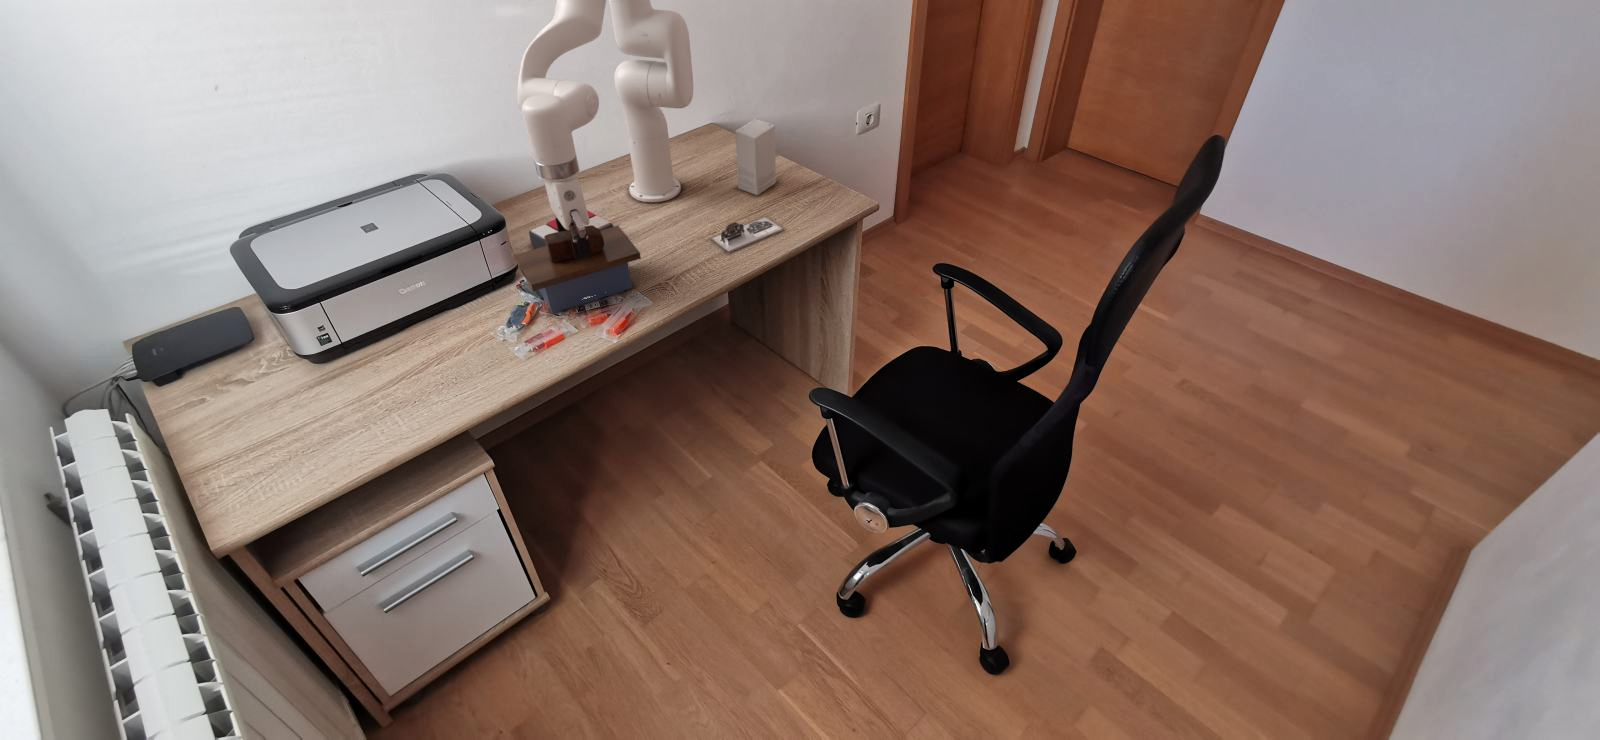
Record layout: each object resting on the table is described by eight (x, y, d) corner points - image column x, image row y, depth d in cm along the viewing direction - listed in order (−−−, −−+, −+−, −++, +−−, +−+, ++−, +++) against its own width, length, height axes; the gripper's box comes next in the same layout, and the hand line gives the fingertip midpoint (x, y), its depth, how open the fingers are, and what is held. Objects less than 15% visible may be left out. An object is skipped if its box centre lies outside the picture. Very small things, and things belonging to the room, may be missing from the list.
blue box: (537, 288, 155) (529, 260, 150) (615, 264, 161) (609, 237, 157) (552, 313, 149) (544, 284, 144) (632, 288, 155) (627, 259, 150)
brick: (552, 264, 146) (547, 244, 143) (548, 254, 149) (543, 234, 146) (606, 252, 150) (602, 231, 147) (600, 242, 152) (596, 222, 149)
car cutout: (729, 252, 165) (727, 234, 162) (712, 239, 169) (711, 222, 166) (782, 230, 172) (782, 213, 169) (765, 218, 176) (764, 201, 173)
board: (515, 261, 150) (513, 254, 149) (619, 231, 158) (618, 225, 157) (533, 291, 142) (531, 285, 141) (641, 258, 151) (639, 252, 150)
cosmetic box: (757, 176, 192) (755, 117, 181) (778, 183, 189) (777, 124, 179) (736, 189, 187) (733, 129, 176) (757, 196, 184) (755, 136, 174)
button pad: (613, 221, 168) (557, 246, 159) (615, 238, 171) (561, 263, 161) (582, 205, 173) (527, 228, 164) (585, 221, 176) (530, 245, 167)
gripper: (592, 180, 133) (608, 260, 144) (562, 142, 144) (579, 220, 155) (551, 190, 130) (571, 272, 141) (523, 151, 141) (543, 230, 152)
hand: (575, 245), depth 148 cm, fingers open, 9 cm apart
